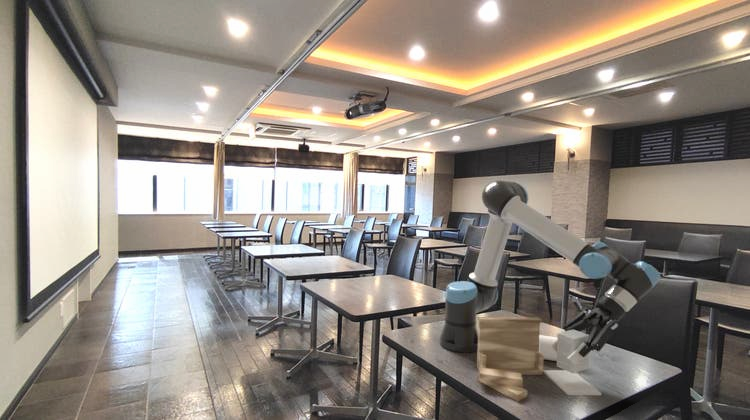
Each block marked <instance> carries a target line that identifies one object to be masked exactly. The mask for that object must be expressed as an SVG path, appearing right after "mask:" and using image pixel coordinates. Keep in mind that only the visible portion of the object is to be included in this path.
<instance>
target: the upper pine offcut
mask: <svg viewBox="0 0 750 420" xmlns="http://www.w3.org/2000/svg"><path fill="white" fill-rule="evenodd" d="M478 374H479V381H478V382H480V383H481V382H487V383H493V384H500V385H507V386H513V387H520V388H524V385H523V383H524V382H523V381H524V378H523V376H522V375H521V373H516V372H509V371H502V370H495V369H487V368H480V367H479V370H478Z"/></svg>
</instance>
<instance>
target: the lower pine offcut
mask: <svg viewBox="0 0 750 420" xmlns="http://www.w3.org/2000/svg"><path fill="white" fill-rule="evenodd" d="M476 375H477V376H476V380H477V382H480V381H479V373H477V374H476ZM480 383H482V384H483V385H485V386H487V387H489V388H491V389H493V390H495V391H496V392H499V393H501V394H503V395H504V396H506V397H508V398H510V399H512V400H514V401H516V402H519V401H522V400H523V399H525V398H528V389H526V388H524V387H522V388H520V387H513V386H507V385H500V384H493V383H487V382H480Z"/></svg>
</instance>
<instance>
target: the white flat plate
mask: <svg viewBox="0 0 750 420" xmlns="http://www.w3.org/2000/svg"><path fill="white" fill-rule="evenodd" d="M543 374H545V376H547V377H548V378H549V379H550V380H551V381H552V382H553V384H555V385H556V386H557V387H559V389H561V391H563V393H565V394H566V395H567V396H602V392H600V391H599V390H598V389H597V388H596V387H594V386H593V385H592V384H590V383H589V382H588V381H586V380H585V379H584V377H582V376H580V375H579V374H578V372H576V373H570V372H568V371H566V370H564V369H561V370H560V369H559V370H558V369H557V370H555V369H554V370H553V369H550V370H549V369H543Z"/></svg>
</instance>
